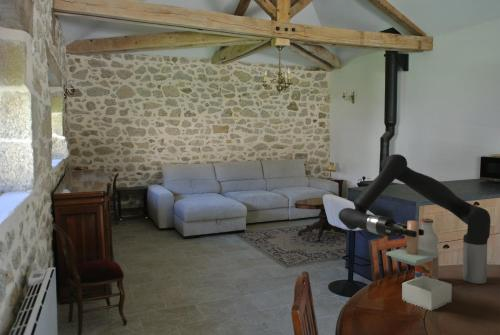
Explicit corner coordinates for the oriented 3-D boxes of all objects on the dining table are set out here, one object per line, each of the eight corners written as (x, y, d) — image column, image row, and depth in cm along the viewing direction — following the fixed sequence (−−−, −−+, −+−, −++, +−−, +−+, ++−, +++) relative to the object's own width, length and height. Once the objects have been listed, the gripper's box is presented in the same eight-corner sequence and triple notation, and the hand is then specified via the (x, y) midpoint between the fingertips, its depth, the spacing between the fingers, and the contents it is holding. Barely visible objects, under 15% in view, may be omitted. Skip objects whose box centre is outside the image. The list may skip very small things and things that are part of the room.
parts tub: (422, 292, 159) (422, 275, 159) (451, 301, 149) (451, 284, 149) (402, 300, 151) (402, 283, 151) (431, 311, 141) (431, 292, 141)
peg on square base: (408, 252, 154) (409, 216, 153) (438, 260, 144) (439, 222, 143) (386, 258, 146) (386, 221, 145) (415, 267, 136) (417, 227, 135)
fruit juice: (442, 285, 167) (443, 221, 165) (420, 285, 167) (421, 221, 165) (431, 277, 176) (432, 217, 175) (411, 278, 176) (411, 217, 175)
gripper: (369, 218, 152) (408, 225, 138) (392, 214, 160) (431, 221, 146) (369, 236, 153) (408, 246, 138) (391, 232, 161) (430, 240, 146)
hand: (419, 233), depth 142 cm, fingers closed on peg on square base, 4 cm apart
